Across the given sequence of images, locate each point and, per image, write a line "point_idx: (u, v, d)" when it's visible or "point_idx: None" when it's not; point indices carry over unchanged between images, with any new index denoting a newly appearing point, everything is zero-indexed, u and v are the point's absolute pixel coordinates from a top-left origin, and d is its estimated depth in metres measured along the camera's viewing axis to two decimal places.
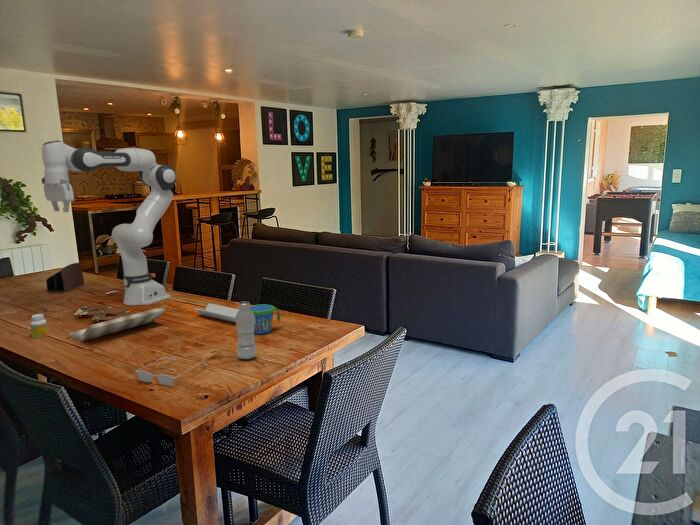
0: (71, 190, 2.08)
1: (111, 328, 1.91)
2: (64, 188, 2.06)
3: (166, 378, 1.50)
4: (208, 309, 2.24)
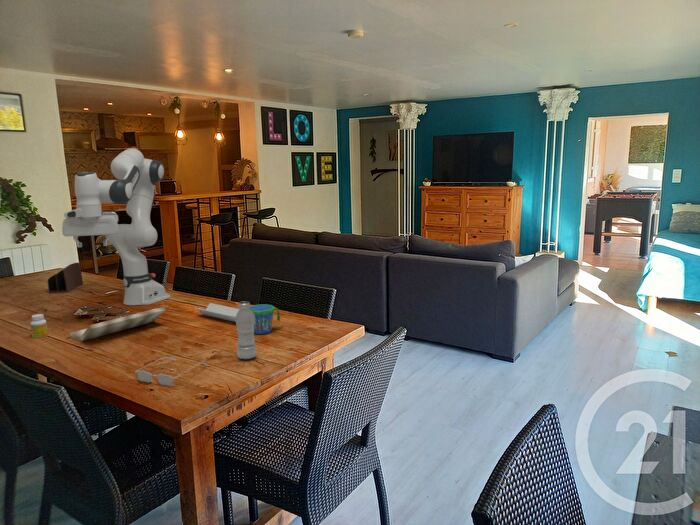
0: None
1: (111, 328, 1.91)
2: (115, 220, 2.01)
3: (165, 378, 1.50)
4: (209, 309, 2.24)
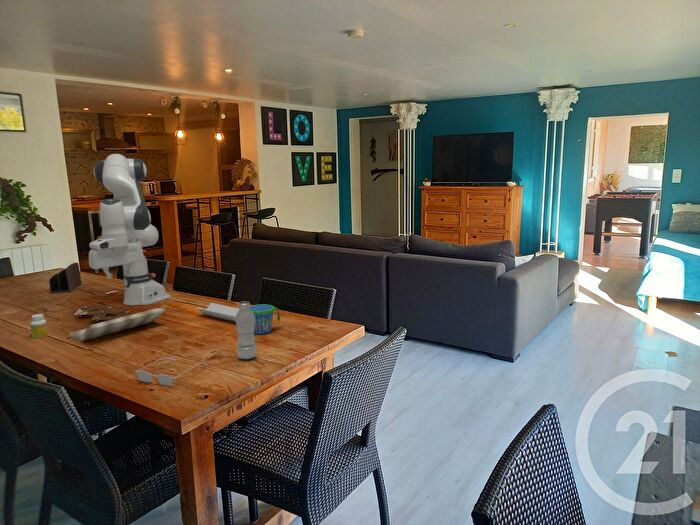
0: None
1: (111, 328, 1.91)
2: (141, 247, 1.97)
3: (165, 378, 1.50)
4: (210, 308, 2.24)
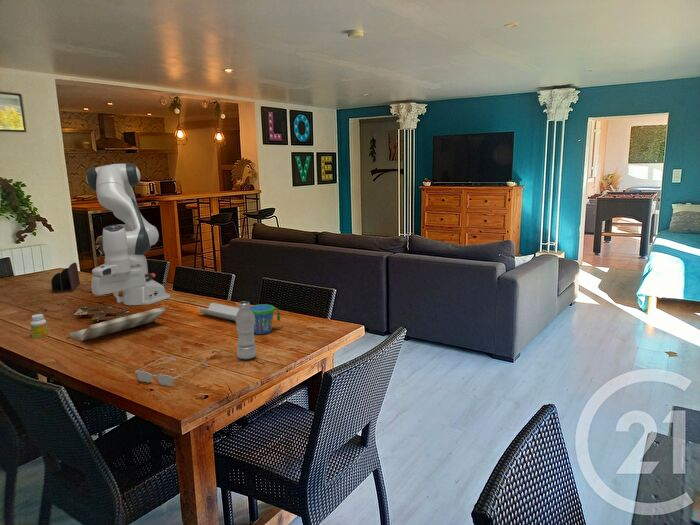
0: None
1: (111, 328, 1.91)
2: (143, 272, 1.99)
3: (166, 378, 1.50)
4: (211, 308, 2.25)
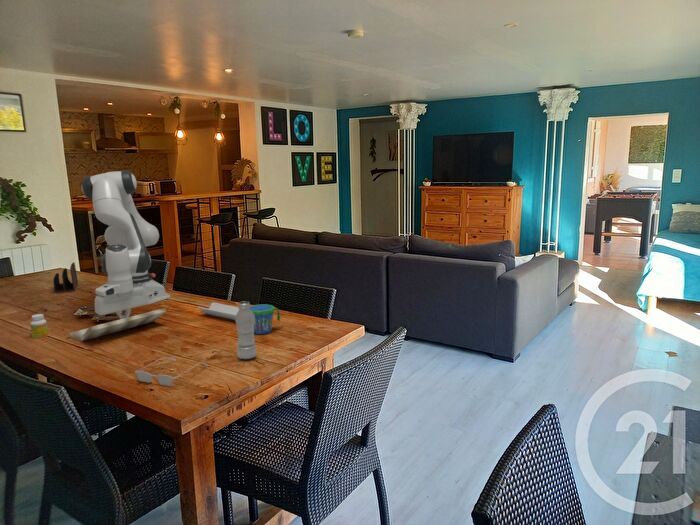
0: None
1: (111, 329, 1.91)
2: (146, 291, 2.00)
3: (165, 378, 1.50)
4: (212, 308, 2.25)
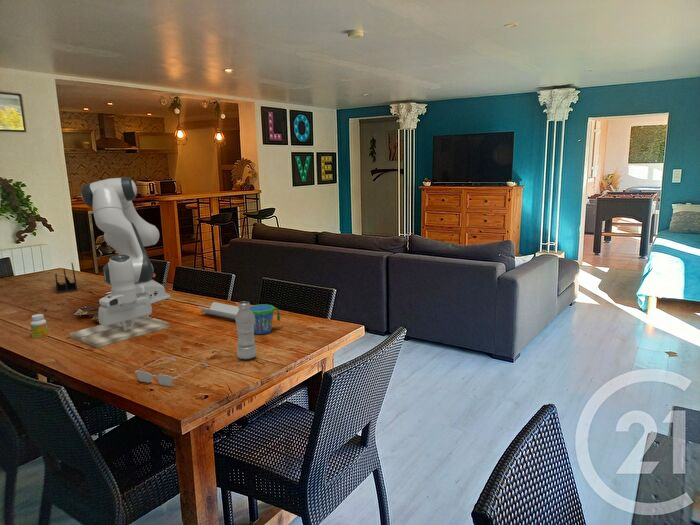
0: None
1: None
2: (149, 300, 2.00)
3: (165, 378, 1.50)
4: (213, 308, 2.26)
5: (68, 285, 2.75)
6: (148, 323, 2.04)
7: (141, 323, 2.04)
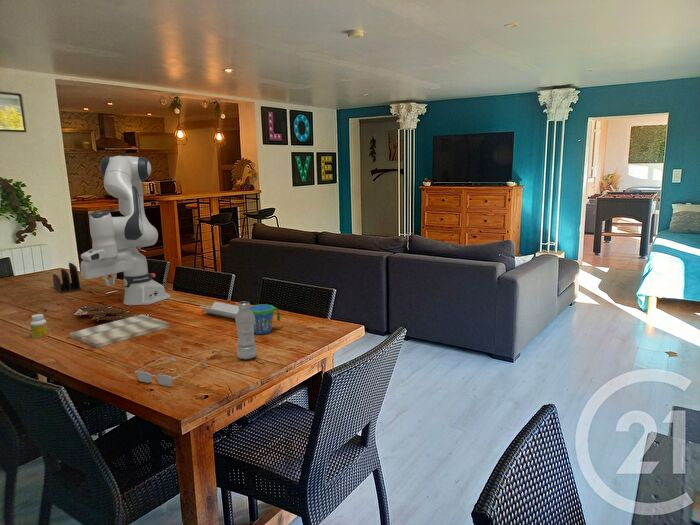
0: None
1: None
2: (130, 256, 2.06)
3: (165, 378, 1.50)
4: (214, 307, 2.26)
5: (69, 285, 2.75)
6: (148, 323, 2.04)
7: (141, 323, 2.04)
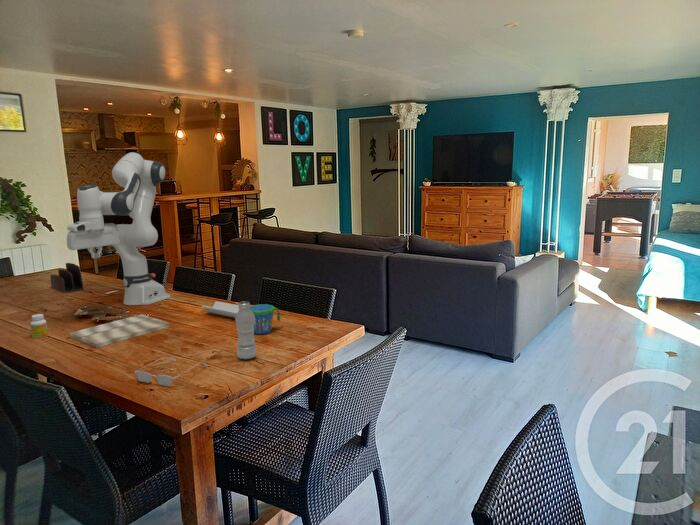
0: None
1: None
2: (117, 231, 2.11)
3: (165, 378, 1.50)
4: (215, 307, 2.27)
5: None
6: (148, 323, 2.04)
7: (141, 323, 2.04)
